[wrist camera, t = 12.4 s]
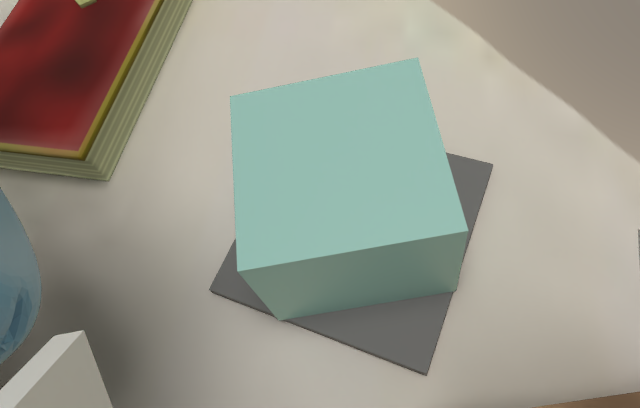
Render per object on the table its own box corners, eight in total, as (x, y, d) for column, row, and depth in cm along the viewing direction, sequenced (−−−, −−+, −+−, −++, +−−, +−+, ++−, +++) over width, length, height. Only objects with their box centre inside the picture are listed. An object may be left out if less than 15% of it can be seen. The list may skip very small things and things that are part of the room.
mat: (212, 292, 28) (209, 289, 28) (300, 121, 33) (298, 116, 32) (426, 375, 24) (426, 373, 24) (492, 168, 29) (493, 164, 28)
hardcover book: (-33, 171, 36) (-84, 136, 32) (90, -31, 45) (61, -77, 41) (115, 191, 33) (78, 154, 29) (215, -30, 42) (196, -79, 39)
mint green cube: (278, 320, 26) (237, 271, 20) (266, 173, 31) (230, 96, 24) (455, 290, 25) (468, 230, 19) (417, 144, 30) (418, 57, 24)
